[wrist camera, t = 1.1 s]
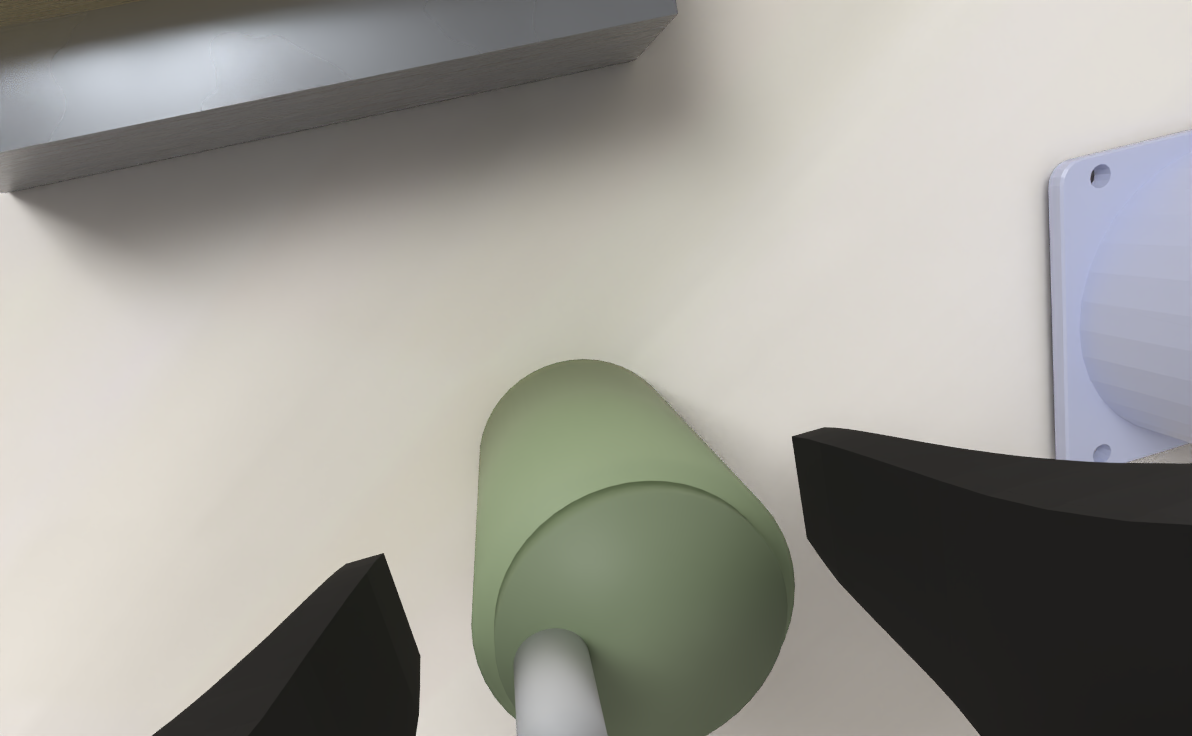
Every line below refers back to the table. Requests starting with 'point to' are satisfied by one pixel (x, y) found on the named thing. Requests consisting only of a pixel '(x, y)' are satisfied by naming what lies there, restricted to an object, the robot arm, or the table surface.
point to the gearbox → (269, 68)
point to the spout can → (618, 563)
